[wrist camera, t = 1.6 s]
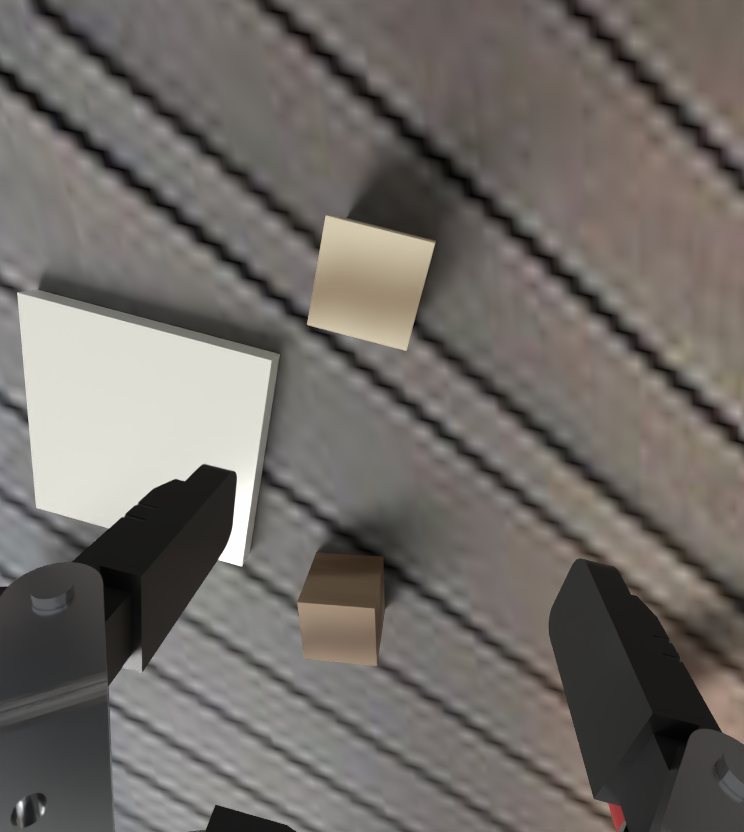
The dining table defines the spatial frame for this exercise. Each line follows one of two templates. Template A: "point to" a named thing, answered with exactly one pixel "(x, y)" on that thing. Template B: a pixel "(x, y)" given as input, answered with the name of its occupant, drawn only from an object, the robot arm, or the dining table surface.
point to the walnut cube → (343, 608)
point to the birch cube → (369, 281)
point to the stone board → (139, 410)
